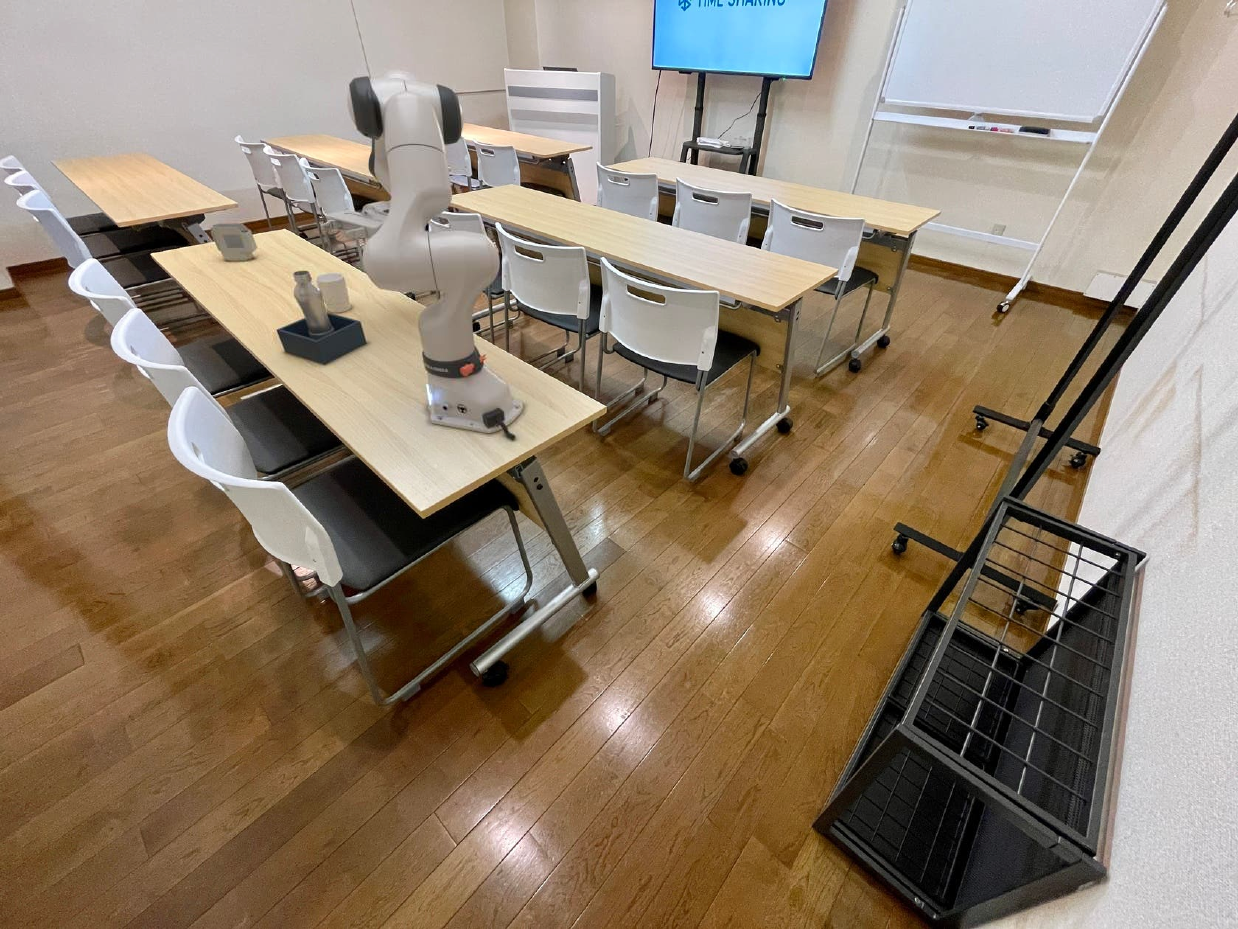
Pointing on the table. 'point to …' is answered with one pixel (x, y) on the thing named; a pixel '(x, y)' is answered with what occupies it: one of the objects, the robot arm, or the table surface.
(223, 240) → the cable organizer
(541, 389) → the table surface
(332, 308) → the white cup
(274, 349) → the table surface
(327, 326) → the metal water bottle
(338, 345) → the tub
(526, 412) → the table surface
